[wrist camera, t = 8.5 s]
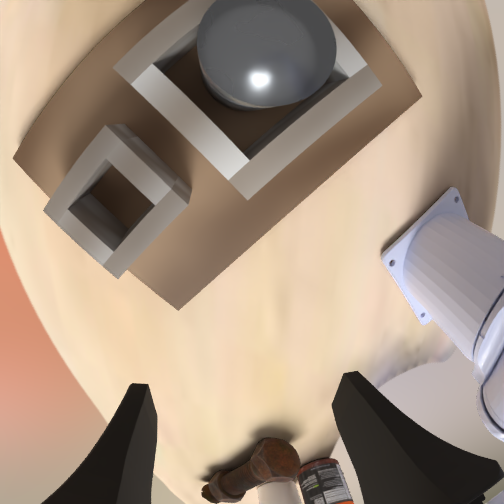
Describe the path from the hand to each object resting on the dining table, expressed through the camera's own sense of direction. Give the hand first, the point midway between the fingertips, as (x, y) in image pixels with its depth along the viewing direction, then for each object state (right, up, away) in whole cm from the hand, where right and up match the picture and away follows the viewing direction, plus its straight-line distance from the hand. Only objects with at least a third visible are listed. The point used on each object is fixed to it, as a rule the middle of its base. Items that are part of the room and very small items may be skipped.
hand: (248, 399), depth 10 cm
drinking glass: (+4, -29, +25) cm, 39 cm away
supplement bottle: (+9, -24, +23) cm, 34 cm away
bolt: (-1, -20, +20) cm, 28 cm away
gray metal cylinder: (0, +14, +3) cm, 15 cm away
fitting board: (-2, +13, +4) cm, 14 cm away
